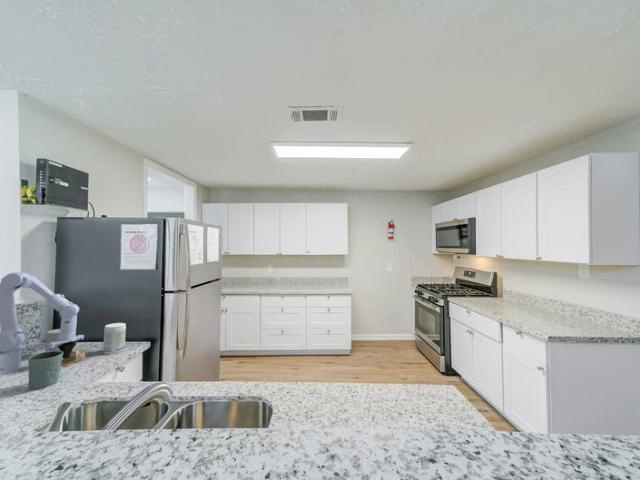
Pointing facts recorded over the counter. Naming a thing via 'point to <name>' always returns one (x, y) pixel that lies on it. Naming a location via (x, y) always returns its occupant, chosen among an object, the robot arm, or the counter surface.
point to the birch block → (77, 354)
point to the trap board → (71, 362)
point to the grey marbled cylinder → (52, 339)
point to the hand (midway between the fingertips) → (65, 358)
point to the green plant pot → (44, 369)
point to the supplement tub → (114, 338)
